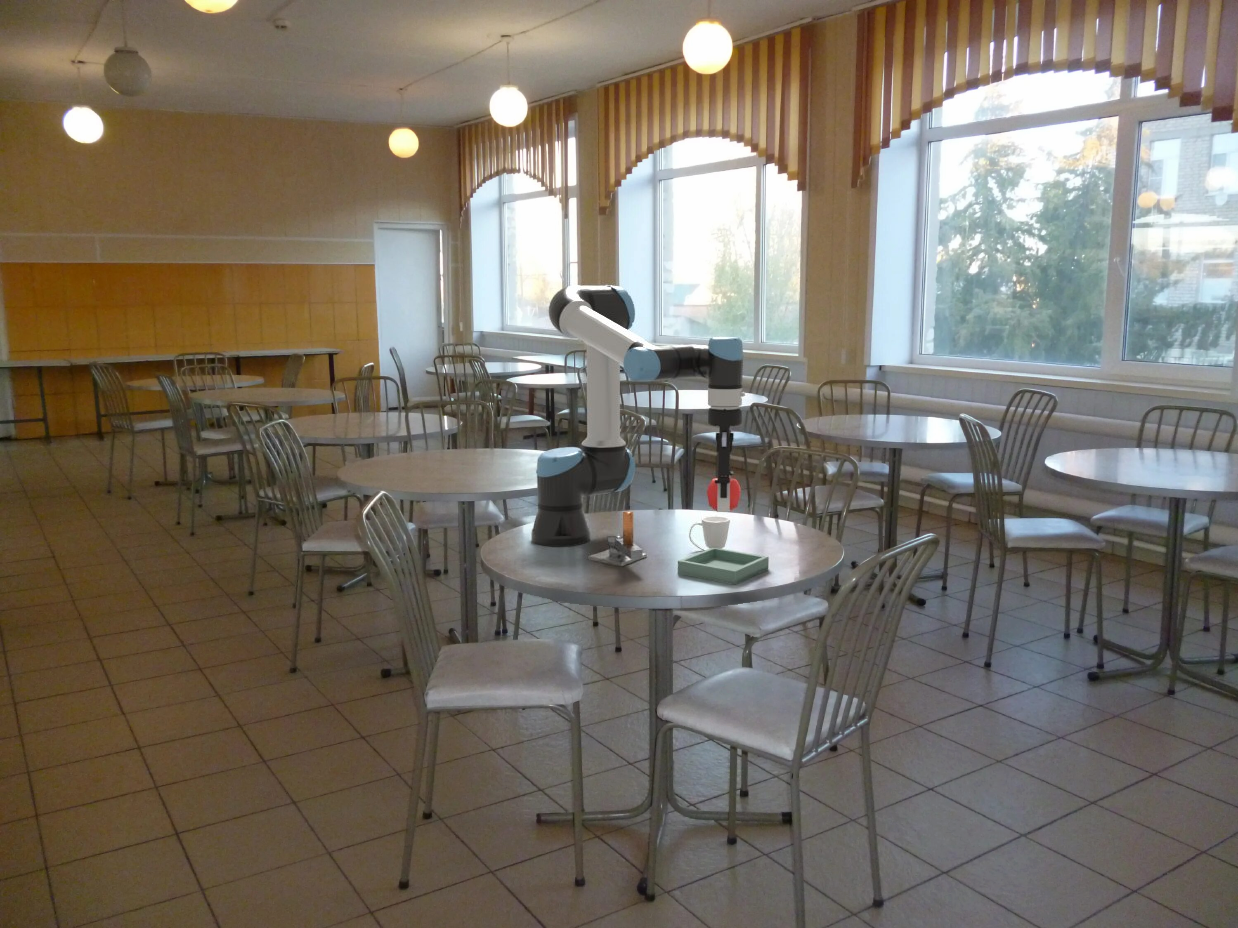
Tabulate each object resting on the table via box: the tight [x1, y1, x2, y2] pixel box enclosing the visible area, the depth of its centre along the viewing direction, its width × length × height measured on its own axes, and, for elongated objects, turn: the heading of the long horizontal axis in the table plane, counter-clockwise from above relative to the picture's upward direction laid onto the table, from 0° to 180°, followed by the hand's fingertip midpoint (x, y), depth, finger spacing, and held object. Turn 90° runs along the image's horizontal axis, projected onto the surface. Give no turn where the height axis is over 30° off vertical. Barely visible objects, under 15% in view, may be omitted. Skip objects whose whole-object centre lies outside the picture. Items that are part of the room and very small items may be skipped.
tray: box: [677, 547, 770, 586], centre depth 229 cm, size 15×15×3 cm
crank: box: [606, 510, 644, 559], centre depth 234 cm, size 16×5×10 cm, turn 18°
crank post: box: [587, 546, 648, 567], centre depth 241 cm, size 10×10×3 cm
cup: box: [688, 515, 731, 551], centre depth 247 cm, size 7×10×8 cm
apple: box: [706, 476, 742, 511], centre depth 226 cm, size 8×8×8 cm
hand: (723, 507), depth 226 cm, fingers closed on apple, 8 cm apart
